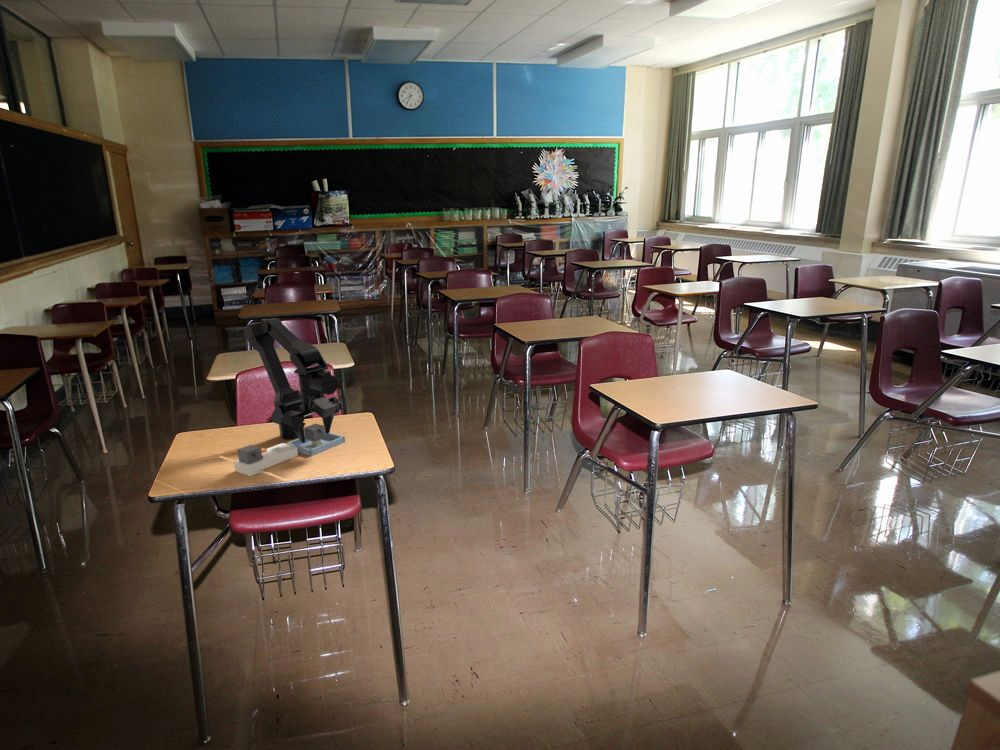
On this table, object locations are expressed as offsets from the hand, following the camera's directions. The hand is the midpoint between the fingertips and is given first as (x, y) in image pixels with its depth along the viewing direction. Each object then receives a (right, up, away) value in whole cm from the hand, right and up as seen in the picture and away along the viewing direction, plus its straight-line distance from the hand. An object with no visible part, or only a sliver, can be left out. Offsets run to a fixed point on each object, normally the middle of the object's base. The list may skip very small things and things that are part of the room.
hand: (315, 437), depth 190 cm
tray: (0, -3, +1) cm, 3 cm away
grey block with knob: (0, -2, +1) cm, 2 cm away
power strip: (-10, -7, -11) cm, 16 cm away
